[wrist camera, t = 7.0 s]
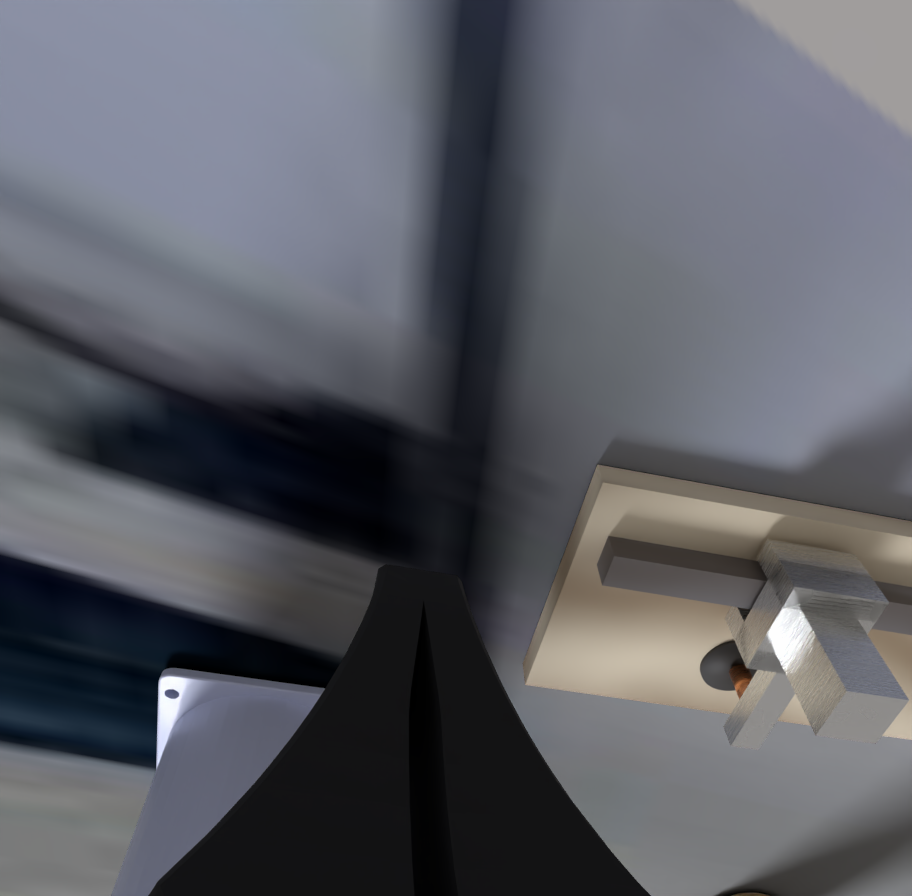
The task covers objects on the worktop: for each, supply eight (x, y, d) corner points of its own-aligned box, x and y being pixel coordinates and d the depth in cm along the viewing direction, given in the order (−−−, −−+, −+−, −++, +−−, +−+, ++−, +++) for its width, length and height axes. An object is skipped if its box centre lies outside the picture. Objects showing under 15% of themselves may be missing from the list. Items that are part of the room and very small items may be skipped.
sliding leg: (762, 701, 28) (822, 838, 24) (685, 689, 28) (731, 827, 23) (855, 554, 24) (946, 682, 20) (767, 539, 24) (840, 666, 20)
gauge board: (1001, 733, 31) (1034, 777, 29) (522, 663, 29) (527, 707, 27) (1151, 564, 27) (1200, 605, 25) (597, 464, 24) (609, 501, 22)
